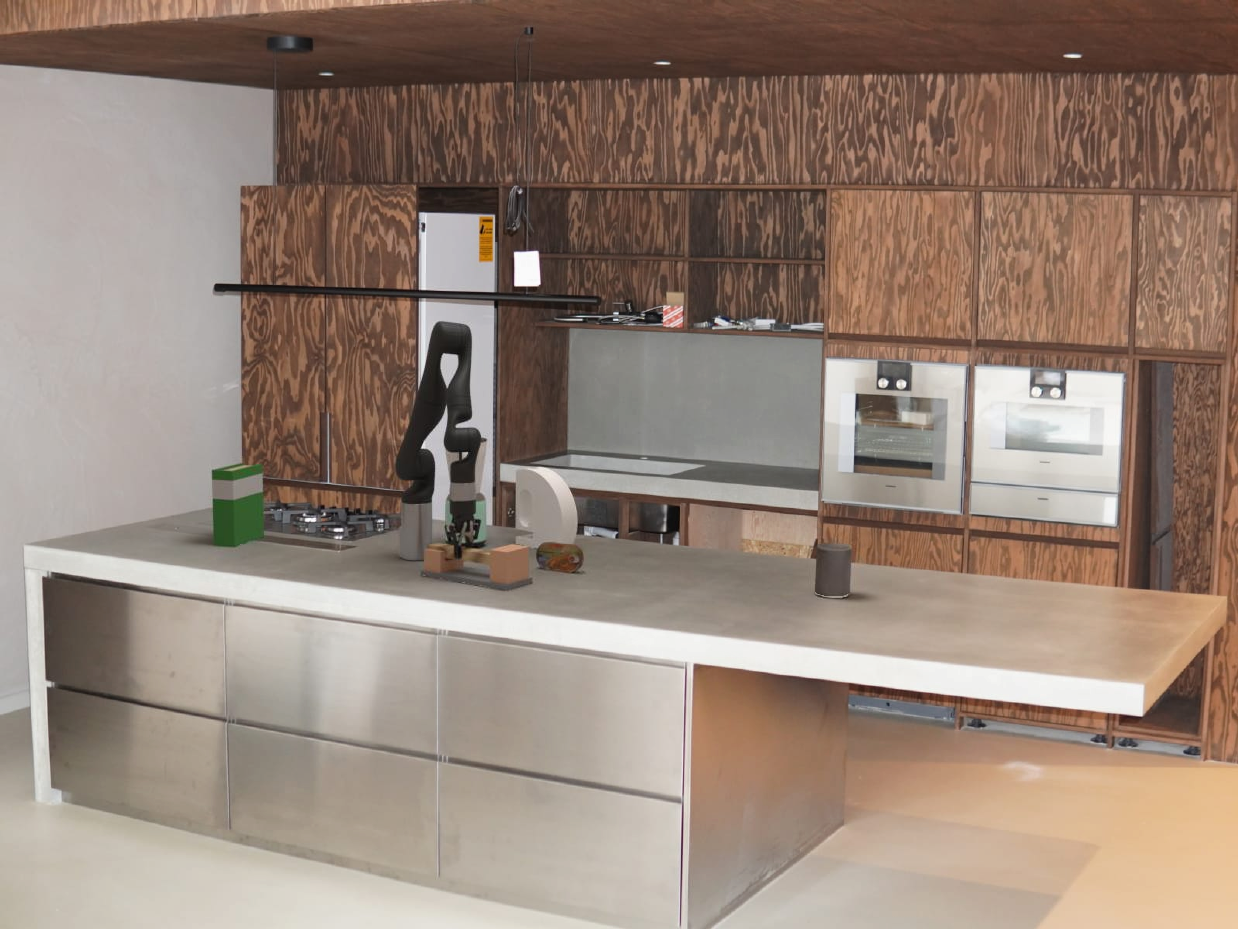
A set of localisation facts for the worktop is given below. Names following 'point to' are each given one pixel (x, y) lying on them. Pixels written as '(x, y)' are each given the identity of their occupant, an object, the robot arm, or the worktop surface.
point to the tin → (559, 557)
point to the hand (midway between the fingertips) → (463, 556)
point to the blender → (479, 496)
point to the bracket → (544, 508)
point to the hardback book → (237, 504)
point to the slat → (463, 553)
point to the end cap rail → (504, 569)
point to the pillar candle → (833, 569)
